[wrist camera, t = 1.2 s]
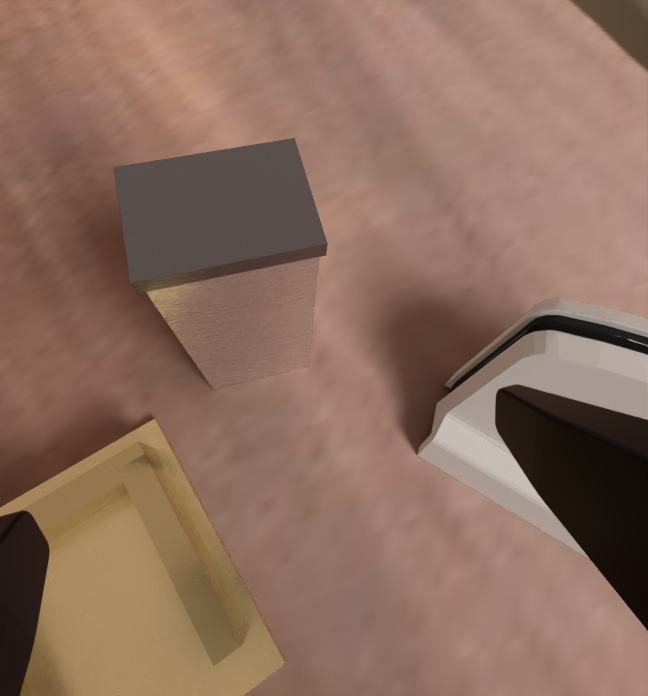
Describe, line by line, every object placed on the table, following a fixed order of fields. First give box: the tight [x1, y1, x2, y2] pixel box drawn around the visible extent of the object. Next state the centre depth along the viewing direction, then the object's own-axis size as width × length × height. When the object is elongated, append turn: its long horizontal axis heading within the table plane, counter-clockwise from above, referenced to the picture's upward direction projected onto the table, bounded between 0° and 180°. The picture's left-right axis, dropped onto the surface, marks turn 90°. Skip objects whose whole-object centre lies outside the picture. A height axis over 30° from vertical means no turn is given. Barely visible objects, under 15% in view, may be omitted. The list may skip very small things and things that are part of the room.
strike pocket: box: [0, 419, 285, 696], centre depth 18 cm, size 12×11×3 cm
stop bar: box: [114, 138, 327, 389], centre depth 18 cm, size 4×5×12 cm
